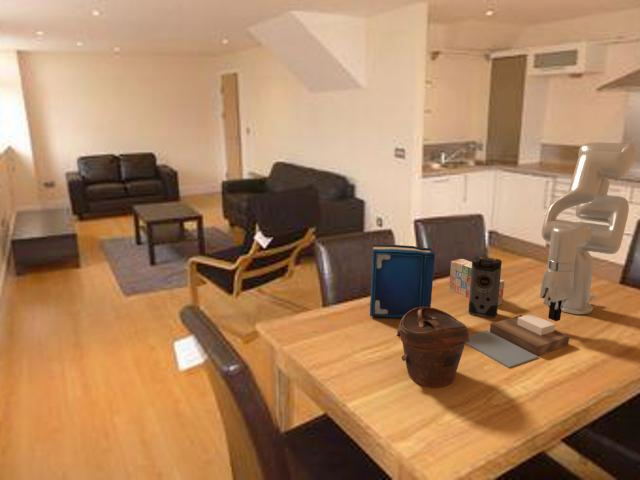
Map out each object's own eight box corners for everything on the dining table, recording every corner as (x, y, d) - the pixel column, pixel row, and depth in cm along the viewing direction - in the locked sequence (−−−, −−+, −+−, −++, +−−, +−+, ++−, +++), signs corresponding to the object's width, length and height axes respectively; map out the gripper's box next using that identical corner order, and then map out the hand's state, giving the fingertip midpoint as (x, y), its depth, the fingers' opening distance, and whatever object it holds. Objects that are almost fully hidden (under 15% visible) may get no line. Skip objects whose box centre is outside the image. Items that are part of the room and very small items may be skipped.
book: (430, 312, 175) (434, 244, 169) (433, 320, 168) (436, 250, 162) (369, 310, 177) (371, 243, 171) (369, 318, 170) (371, 249, 164)
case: (413, 350, 147) (415, 295, 142) (478, 372, 135) (482, 312, 130) (381, 376, 134) (382, 316, 129) (449, 403, 122) (453, 338, 117)
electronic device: (467, 314, 173) (471, 260, 168) (470, 308, 178) (474, 255, 173) (495, 319, 169) (499, 263, 163) (497, 313, 174) (502, 259, 168)
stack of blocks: (502, 304, 182) (505, 272, 178) (490, 307, 179) (493, 275, 175) (460, 286, 200) (462, 258, 196) (448, 289, 197) (450, 260, 193)
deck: (520, 323, 165) (520, 315, 164) (568, 345, 150) (569, 336, 149) (489, 332, 159) (490, 323, 158) (536, 356, 144) (537, 346, 143)
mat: (486, 331, 160) (486, 330, 159) (538, 357, 142) (538, 356, 142) (458, 339, 154) (458, 338, 154) (508, 368, 137) (509, 366, 137)
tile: (530, 320, 160) (530, 313, 159) (554, 331, 152) (554, 324, 152) (517, 324, 157) (517, 317, 157) (540, 335, 150) (541, 328, 149)
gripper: (565, 258, 160) (559, 310, 165) (534, 265, 154) (528, 319, 158) (587, 265, 154) (579, 318, 159) (555, 272, 147) (548, 328, 152)
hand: (554, 319), depth 158 cm, fingers closed
